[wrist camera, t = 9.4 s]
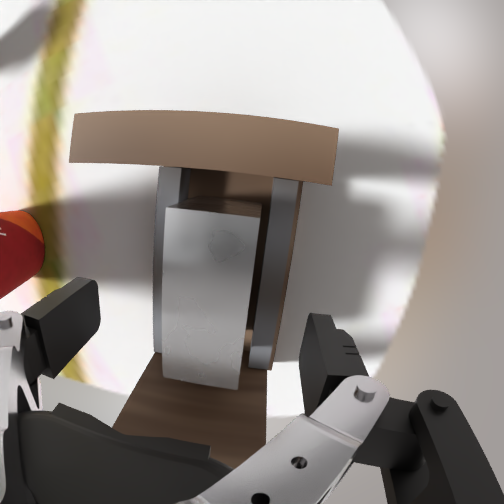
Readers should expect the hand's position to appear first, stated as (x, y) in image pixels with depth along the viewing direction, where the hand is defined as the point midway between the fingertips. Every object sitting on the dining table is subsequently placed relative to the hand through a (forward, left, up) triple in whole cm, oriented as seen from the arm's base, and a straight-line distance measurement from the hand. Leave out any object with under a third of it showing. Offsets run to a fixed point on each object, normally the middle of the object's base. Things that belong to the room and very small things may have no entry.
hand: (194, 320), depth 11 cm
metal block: (0, 0, -8) cm, 8 cm away
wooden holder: (0, 0, -9) cm, 9 cm away
